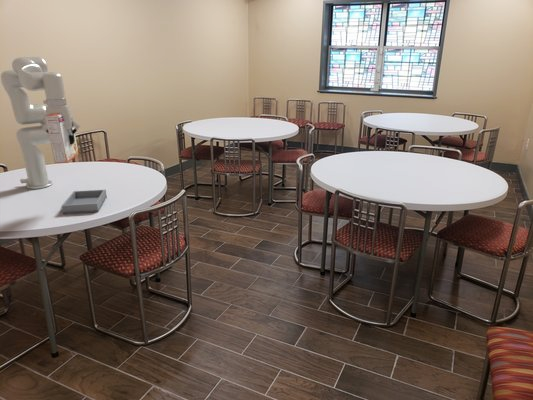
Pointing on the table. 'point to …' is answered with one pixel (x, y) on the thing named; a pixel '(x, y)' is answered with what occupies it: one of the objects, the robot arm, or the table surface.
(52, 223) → the table surface
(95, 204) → the tray
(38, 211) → the table surface
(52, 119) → the cracker box
